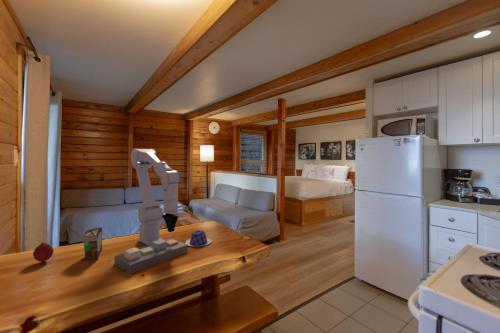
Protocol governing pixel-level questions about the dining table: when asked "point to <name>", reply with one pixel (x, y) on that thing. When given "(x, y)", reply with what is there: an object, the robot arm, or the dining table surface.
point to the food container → (92, 243)
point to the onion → (43, 252)
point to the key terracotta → (172, 243)
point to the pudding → (198, 239)
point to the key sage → (146, 251)
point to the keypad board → (150, 257)
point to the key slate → (159, 245)
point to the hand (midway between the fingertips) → (171, 231)
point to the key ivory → (132, 253)
